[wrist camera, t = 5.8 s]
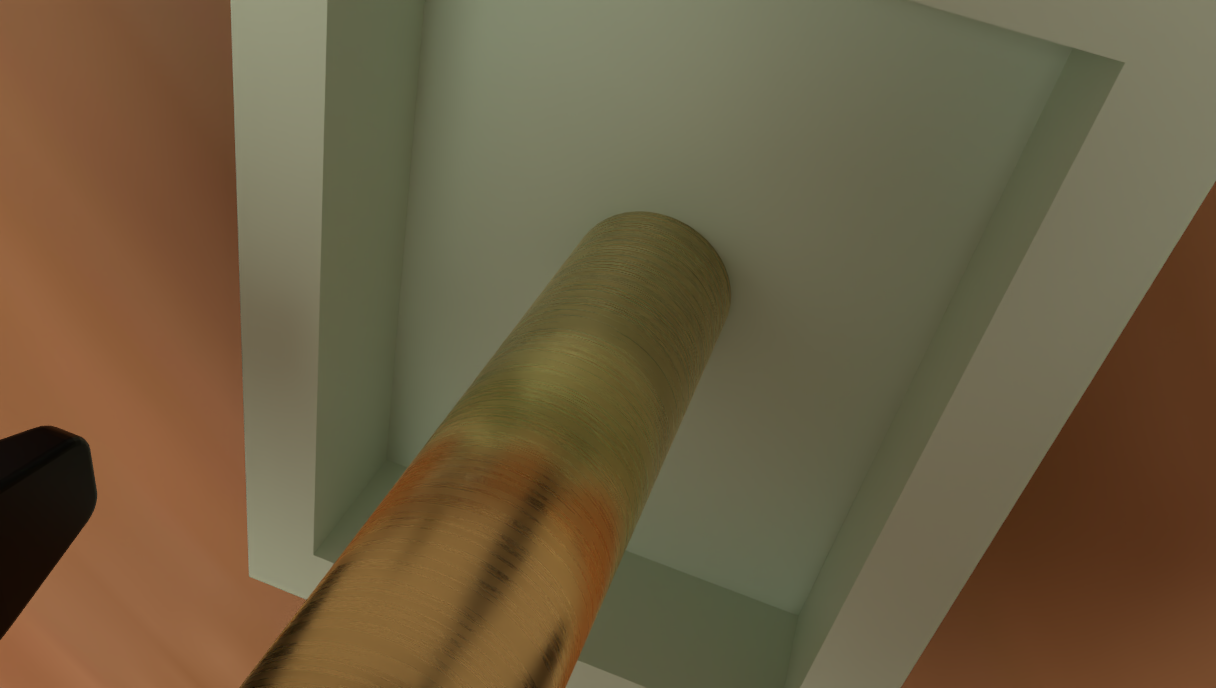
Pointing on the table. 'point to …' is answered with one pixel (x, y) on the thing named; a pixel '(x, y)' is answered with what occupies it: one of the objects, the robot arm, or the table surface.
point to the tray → (755, 263)
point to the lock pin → (523, 482)
